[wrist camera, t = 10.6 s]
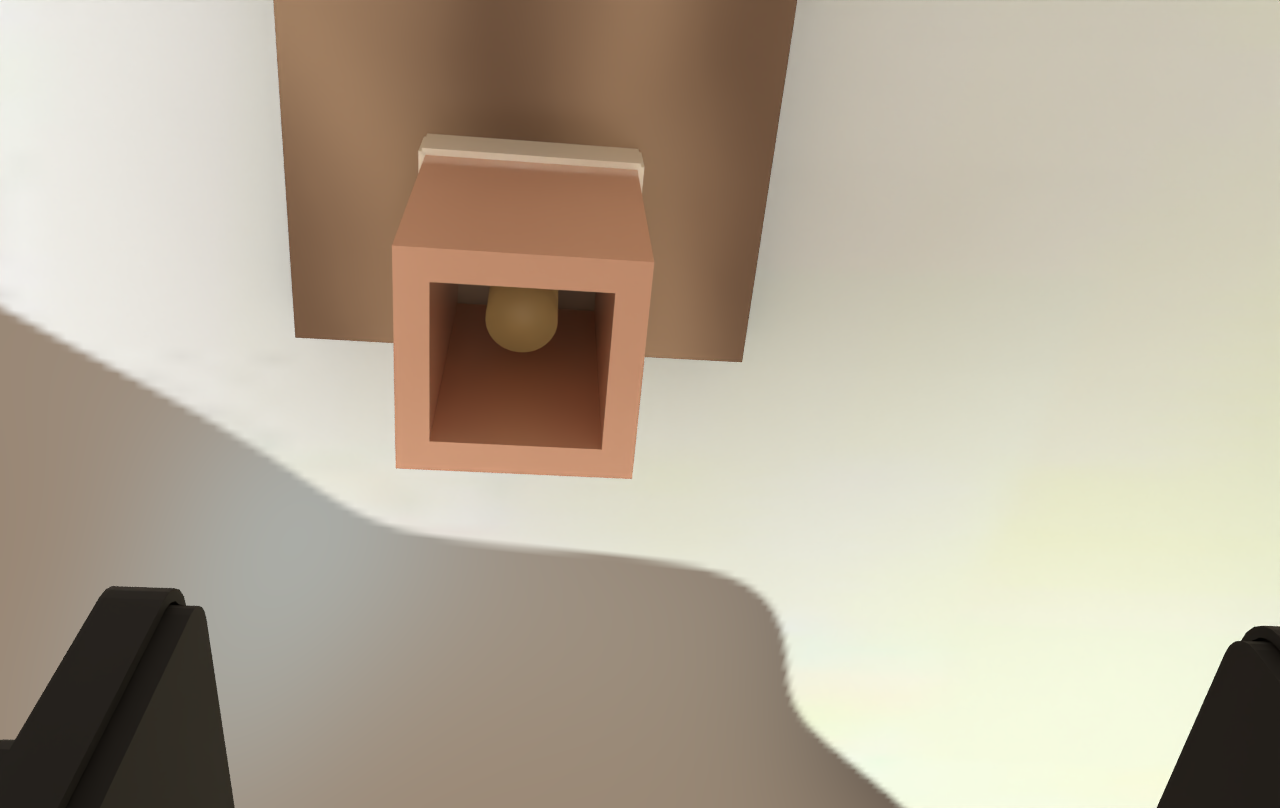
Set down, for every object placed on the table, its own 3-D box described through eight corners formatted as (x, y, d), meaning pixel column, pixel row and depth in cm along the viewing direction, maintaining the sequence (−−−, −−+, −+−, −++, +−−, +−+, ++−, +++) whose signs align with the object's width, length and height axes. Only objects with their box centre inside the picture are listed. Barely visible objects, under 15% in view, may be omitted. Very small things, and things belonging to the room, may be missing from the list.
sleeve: (642, 148, 28) (663, 254, 21) (623, 342, 30) (638, 485, 24) (423, 133, 27) (382, 237, 21) (424, 331, 30) (388, 474, 24)
